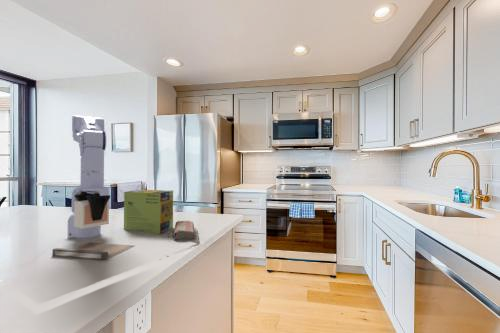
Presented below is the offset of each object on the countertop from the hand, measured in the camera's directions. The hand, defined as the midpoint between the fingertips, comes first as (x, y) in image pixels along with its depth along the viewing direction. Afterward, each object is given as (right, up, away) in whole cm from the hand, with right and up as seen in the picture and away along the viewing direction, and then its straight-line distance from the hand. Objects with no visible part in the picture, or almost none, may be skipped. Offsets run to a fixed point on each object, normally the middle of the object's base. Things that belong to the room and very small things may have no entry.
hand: (92, 218), depth 72 cm
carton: (0, -2, 0) cm, 2 cm away
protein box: (+6, -10, +26) cm, 29 cm away
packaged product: (+22, -11, +17) cm, 30 cm away
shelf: (+2, -10, -1) cm, 10 cm away
